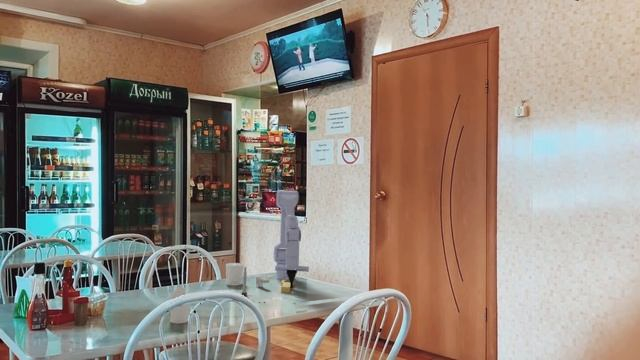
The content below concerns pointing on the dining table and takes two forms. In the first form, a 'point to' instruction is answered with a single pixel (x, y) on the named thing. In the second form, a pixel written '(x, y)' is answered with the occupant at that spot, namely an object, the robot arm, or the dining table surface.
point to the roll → (179, 308)
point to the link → (285, 286)
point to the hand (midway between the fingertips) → (291, 287)
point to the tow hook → (244, 284)
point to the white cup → (234, 273)
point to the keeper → (261, 281)
